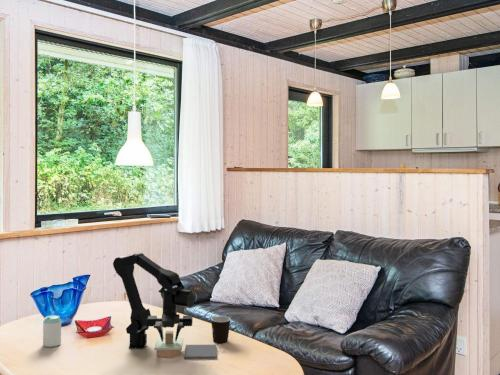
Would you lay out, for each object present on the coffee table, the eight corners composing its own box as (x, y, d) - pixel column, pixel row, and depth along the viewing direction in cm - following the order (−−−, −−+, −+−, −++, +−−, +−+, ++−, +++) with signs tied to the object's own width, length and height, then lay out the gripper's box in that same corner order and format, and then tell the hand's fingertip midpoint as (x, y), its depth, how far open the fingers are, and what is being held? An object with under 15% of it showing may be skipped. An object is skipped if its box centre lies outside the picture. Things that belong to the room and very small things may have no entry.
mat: (184, 359, 191) (184, 356, 191) (185, 347, 204) (185, 344, 204) (216, 358, 193) (216, 356, 193) (216, 346, 206) (216, 344, 206)
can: (54, 348, 199) (54, 320, 199) (39, 347, 200) (39, 318, 200) (64, 342, 206) (64, 315, 205) (49, 341, 207) (49, 313, 207)
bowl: (155, 358, 192) (155, 349, 192) (157, 348, 202) (158, 340, 202) (180, 357, 193) (180, 349, 193) (181, 348, 203) (182, 340, 203)
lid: (154, 349, 191) (154, 336, 191) (157, 340, 202) (157, 327, 202) (181, 349, 192) (182, 336, 192) (183, 339, 203) (183, 327, 203)
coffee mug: (227, 345, 207) (227, 322, 207) (208, 343, 209) (208, 321, 209) (233, 336, 219) (234, 315, 218) (215, 334, 220) (215, 313, 220)
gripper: (144, 309, 188) (143, 349, 188) (192, 309, 189) (191, 348, 190) (147, 301, 199) (147, 338, 199) (192, 301, 200) (192, 338, 201)
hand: (169, 341), depth 197 cm, fingers open, 5 cm apart
